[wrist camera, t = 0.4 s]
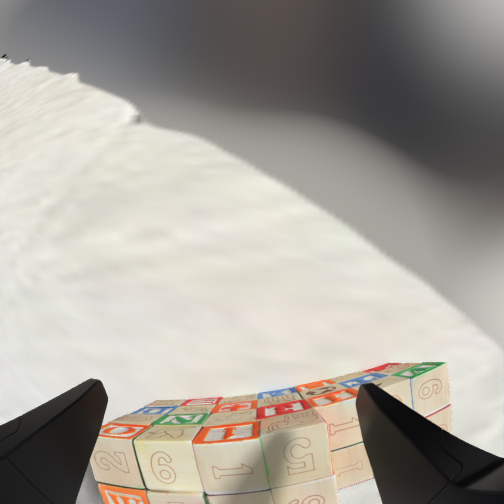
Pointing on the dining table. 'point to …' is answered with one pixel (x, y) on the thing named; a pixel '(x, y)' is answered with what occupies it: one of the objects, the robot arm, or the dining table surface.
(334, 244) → the dining table surface
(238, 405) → the stack of blocks
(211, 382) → the dining table surface
